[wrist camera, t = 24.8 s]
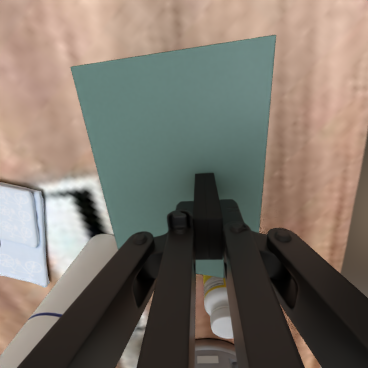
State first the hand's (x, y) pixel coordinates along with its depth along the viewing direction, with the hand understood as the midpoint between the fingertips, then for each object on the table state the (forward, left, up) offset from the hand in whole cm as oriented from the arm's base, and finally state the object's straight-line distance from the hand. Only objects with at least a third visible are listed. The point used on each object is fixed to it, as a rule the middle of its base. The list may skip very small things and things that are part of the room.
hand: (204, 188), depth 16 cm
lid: (0, +3, -2) cm, 3 cm away
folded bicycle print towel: (-10, +35, -10) cm, 38 cm away
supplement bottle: (-18, -2, -10) cm, 21 cm away
